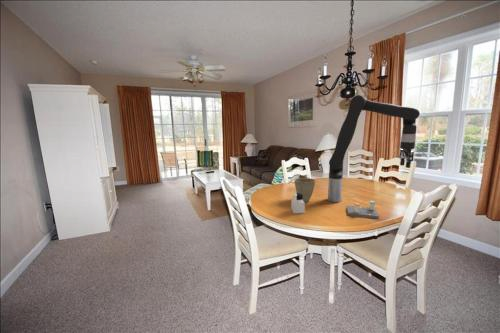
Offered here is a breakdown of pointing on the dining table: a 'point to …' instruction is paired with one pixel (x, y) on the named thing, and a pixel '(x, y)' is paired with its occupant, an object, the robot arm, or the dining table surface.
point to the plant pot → (305, 187)
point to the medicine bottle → (298, 203)
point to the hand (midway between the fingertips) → (404, 166)
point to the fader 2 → (371, 205)
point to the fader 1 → (357, 207)
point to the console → (362, 212)
